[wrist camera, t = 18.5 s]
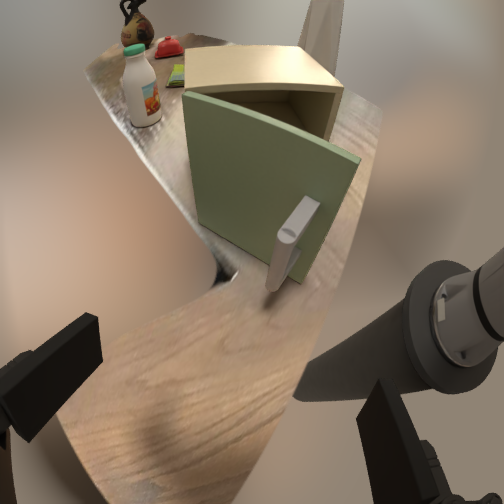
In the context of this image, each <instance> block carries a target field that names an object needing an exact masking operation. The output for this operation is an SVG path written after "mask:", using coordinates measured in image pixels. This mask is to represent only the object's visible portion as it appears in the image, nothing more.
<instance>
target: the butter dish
mask: <svg viewBox="0 0 504 504" xmlns="http://www.w3.org/2000/svg"><path fill="white" fill-rule="evenodd" d="M165 39H166V40H165V41H162V42H160V43H159V44H158V51H156V52H155V58H163V57H169V56H174V55H179V54H181V53H183V47H180V45H179V42H178V40H175V39H171V37H170V36H168V37H165Z"/></svg>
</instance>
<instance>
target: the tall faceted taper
mask: <svg viewBox="0 0 504 504" xmlns="http://www.w3.org/2000/svg"><path fill="white" fill-rule="evenodd" d="M343 6H344V0H311V2H310V6H309V9H308V12H307V16H306V19H305V22H304V25H303V29H302V32H301V36H300V39H299V42H298V46H297V47H300V48H301V49H302V50H304V51H305V52H306V53H307V54H309V55H310V56H311V57H312V58H313V59H314V60H316V61H317V62H318V63H319V64H320V65H321V66H322V67H324V68H325V69H326V70H327V71H328V72H329V73H330V74H331V75H332V76H333V77H334V76H335V69H336V61H337V56H338V48H339V41H340V33H341V25H342V16H343Z"/></svg>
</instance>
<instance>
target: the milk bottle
mask: <svg viewBox="0 0 504 504" xmlns="http://www.w3.org/2000/svg"><path fill="white" fill-rule="evenodd" d="M124 56H125V58H126V67H125V71H124V75H123V88H124V93H125V98H126V103H127V107H128V111H129V115H130V119H131V123H132V124H133V125H134V126H136V127H145V126H149V125H152V124H154V123H156V122H157V121H158V120H159V119H160V118H161V115H162V113H161V106H160V100H159V93H158V87H157V81H156V76H155V72H154V70H153V68H152V67H151V65H150V64H149V63H148V61H147V59H146V57H145V45H144V44H135V45H132V46H129V47H127V48H125V49H124Z"/></svg>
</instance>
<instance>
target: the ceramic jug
mask: <svg viewBox="0 0 504 504" xmlns="http://www.w3.org/2000/svg"><path fill="white" fill-rule="evenodd" d="M126 1H131V3H130V4H129V6H128V7H127V9H131V12H130V15H129V14H128V13H127V12H126V10H125V8H124V5H123V4H124V2H126ZM144 2H146V0H121V2H120V8H121V10H122V12H123V14H124V16H125V25H124V27H123V29H122V33H121V41H122V44H123V46H124V47H126V48H127V47H129V46H132V45H135V44H144V45H145V50H146V49H148V48H149V45H150V43H151V41H152V40H153V38H154V30H153V27H152V25H151V23H150V21H149V20H148V19H147V18H146V17H145V16H144V15H142V14H141V13H140V12H139V10H138V7H139V6H140V5H141V4H143V3H144Z"/></svg>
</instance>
